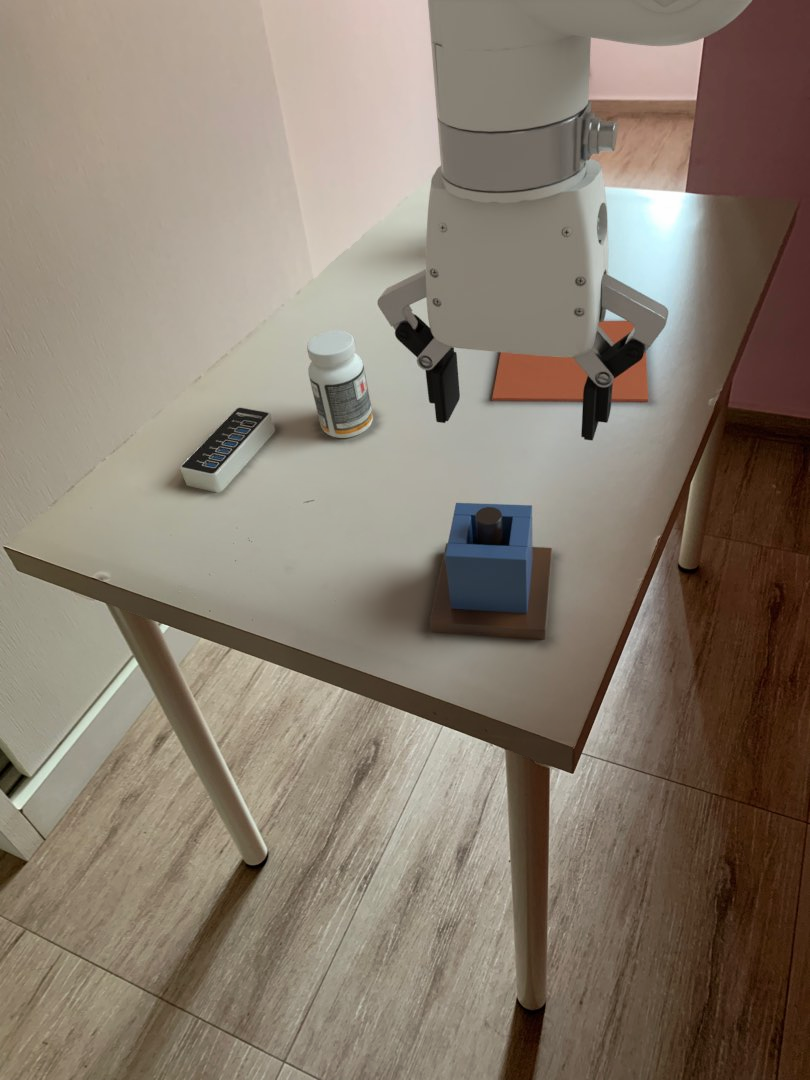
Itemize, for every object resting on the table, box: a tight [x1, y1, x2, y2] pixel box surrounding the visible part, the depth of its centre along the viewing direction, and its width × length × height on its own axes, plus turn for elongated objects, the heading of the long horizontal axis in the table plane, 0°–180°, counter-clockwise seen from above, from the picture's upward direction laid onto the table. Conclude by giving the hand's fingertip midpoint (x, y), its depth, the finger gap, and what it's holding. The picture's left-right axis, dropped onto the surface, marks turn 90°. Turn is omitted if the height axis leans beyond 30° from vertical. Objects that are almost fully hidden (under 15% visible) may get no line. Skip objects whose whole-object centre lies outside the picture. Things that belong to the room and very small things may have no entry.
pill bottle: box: [306, 330, 374, 439], centre depth 83 cm, size 6×6×10 cm
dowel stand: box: [429, 507, 553, 640], centre depth 63 cm, size 9×9×9 cm
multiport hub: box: [179, 406, 276, 493], centre depth 84 cm, size 4×11×2 cm, turn 155°
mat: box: [491, 320, 649, 403], centre depth 90 cm, size 16×16×1 cm
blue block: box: [445, 502, 533, 613], centre depth 64 cm, size 6×6×6 cm
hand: (517, 419), depth 53 cm, fingers open, 9 cm apart
